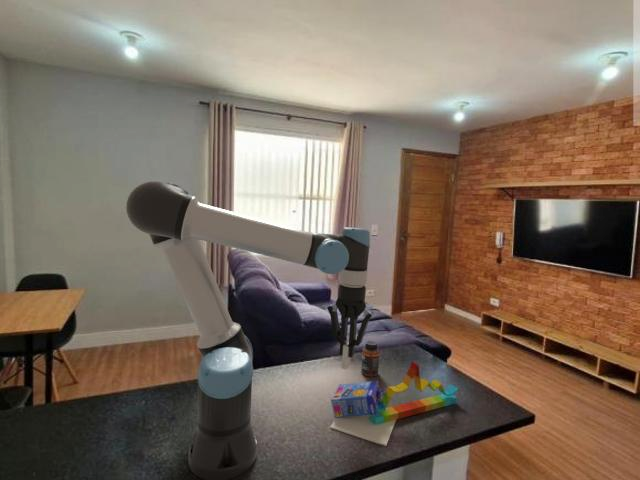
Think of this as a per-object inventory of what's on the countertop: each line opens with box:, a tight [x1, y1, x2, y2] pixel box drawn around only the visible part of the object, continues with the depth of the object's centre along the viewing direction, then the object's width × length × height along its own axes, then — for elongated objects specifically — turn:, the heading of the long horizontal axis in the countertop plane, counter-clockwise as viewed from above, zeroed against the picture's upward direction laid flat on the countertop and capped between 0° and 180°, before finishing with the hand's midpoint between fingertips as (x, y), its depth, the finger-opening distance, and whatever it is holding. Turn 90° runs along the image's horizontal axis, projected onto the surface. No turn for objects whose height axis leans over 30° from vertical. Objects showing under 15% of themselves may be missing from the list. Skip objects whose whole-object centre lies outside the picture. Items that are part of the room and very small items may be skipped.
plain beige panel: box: [329, 415, 397, 447], centre depth 97 cm, size 15×16×1 cm
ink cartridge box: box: [330, 380, 386, 419], centre depth 99 cm, size 10×6×14 cm
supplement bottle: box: [360, 340, 380, 377], centre depth 124 cm, size 6×6×11 cm
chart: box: [369, 361, 459, 425], centre depth 101 cm, size 30×3×15 cm, turn 117°
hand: (345, 366), depth 98 cm, fingers closed
